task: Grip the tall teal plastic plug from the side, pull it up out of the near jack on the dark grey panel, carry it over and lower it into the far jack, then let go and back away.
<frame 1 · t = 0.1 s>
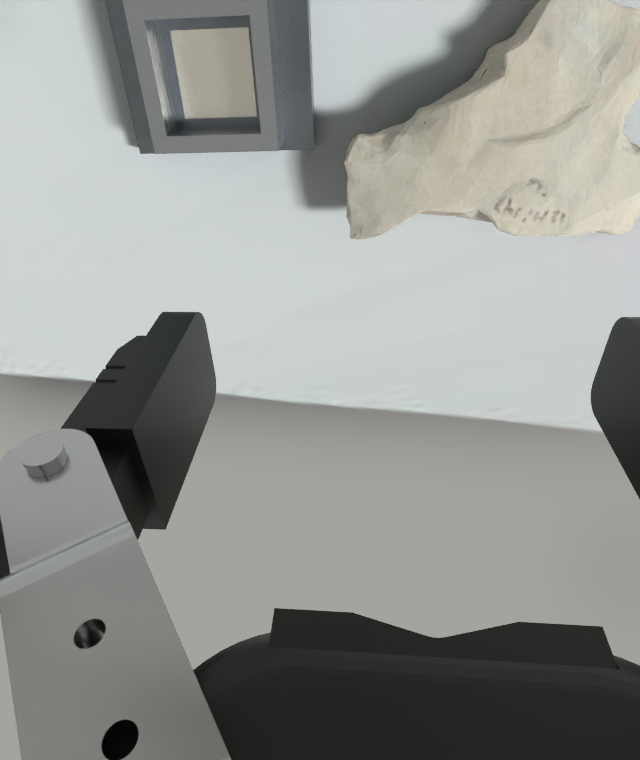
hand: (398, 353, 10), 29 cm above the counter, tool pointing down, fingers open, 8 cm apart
rock: (509, 124, 34), on the counter
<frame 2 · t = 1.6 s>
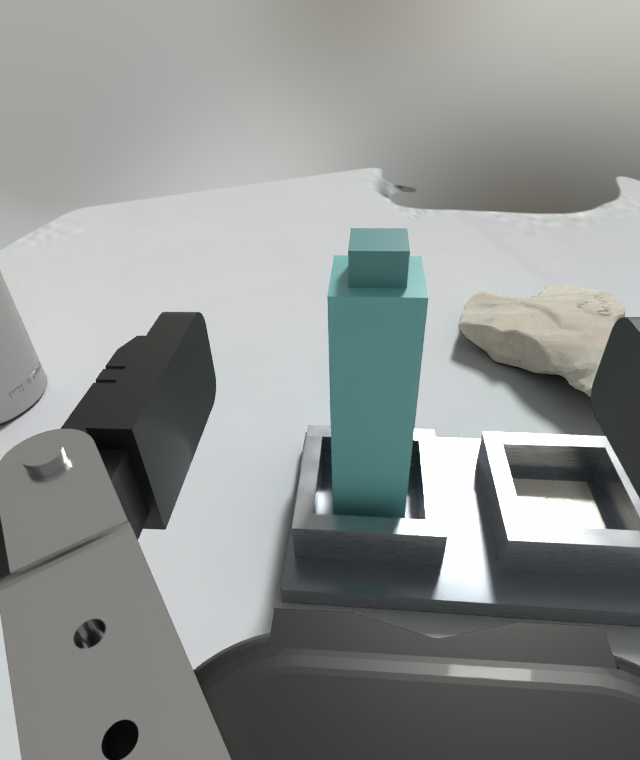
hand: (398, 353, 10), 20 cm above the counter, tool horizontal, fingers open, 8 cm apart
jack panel: (458, 520, 31), on the counter
plug: (368, 502, 31), point 1 cm above the counter, touching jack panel
rock: (540, 356, 46), on the counter
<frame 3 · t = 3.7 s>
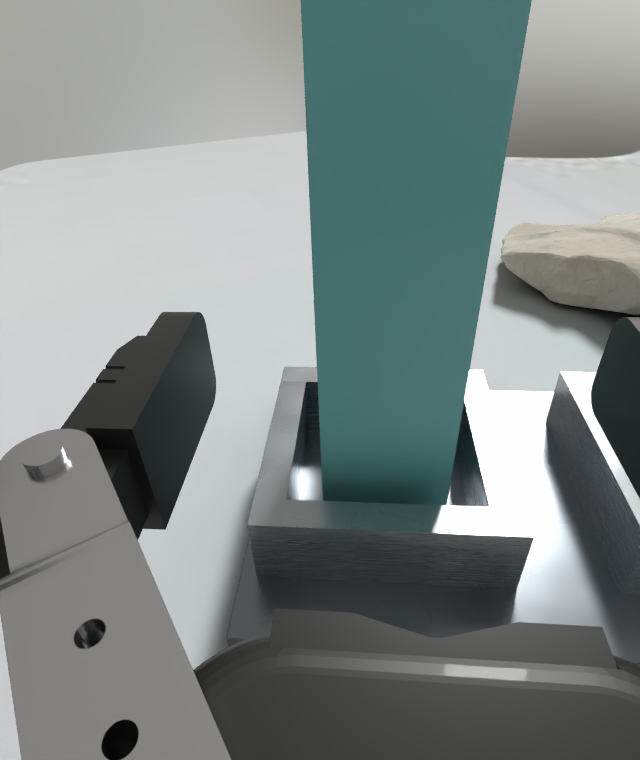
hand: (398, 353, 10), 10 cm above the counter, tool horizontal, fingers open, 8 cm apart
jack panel: (527, 512, 19), on the counter
plug: (381, 485, 19), point 1 cm above the counter, touching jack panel
rock: (612, 298, 34), on the counter
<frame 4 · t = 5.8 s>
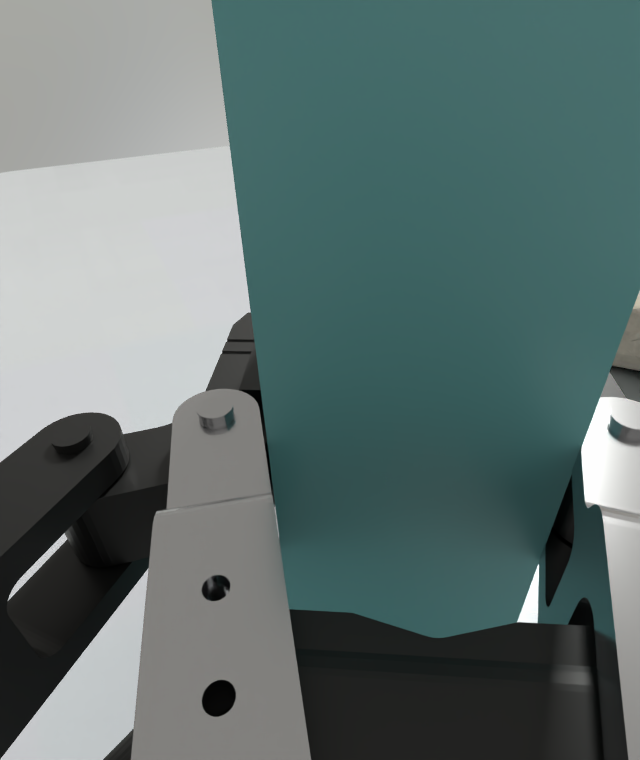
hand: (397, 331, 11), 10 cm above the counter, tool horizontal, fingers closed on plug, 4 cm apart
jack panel: (580, 692, 14), on the counter
plug: (384, 658, 14), point 1 cm above the counter, touching gripper, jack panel
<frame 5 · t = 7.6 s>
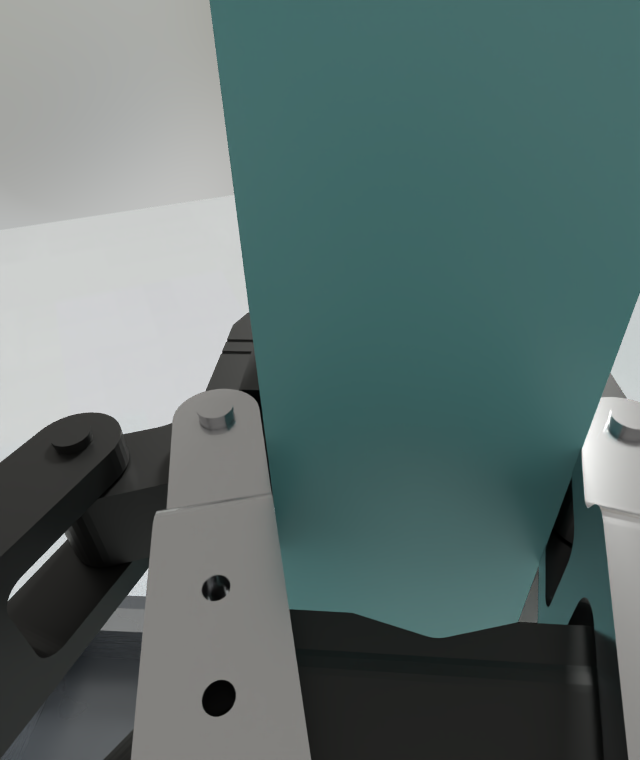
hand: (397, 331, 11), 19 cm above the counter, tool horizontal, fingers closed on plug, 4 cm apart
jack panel: (242, 755, 21), on the counter
plug: (384, 660, 14), point 10 cm above the counter, touching gripper
when the fingers open (11 cm above the counter, at t = 9.4 s): plug drops 1 cm, resting on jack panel.
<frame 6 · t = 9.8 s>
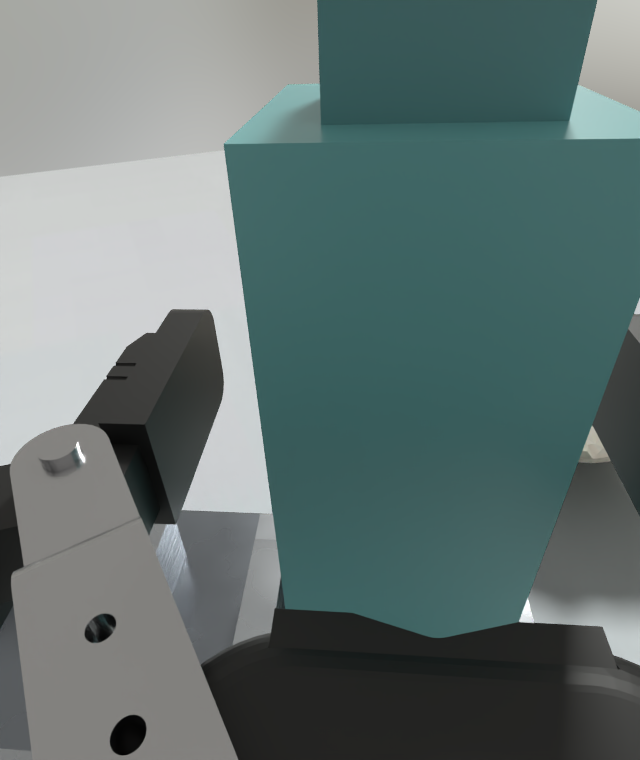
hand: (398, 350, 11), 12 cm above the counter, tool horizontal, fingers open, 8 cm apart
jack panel: (203, 690, 16), on the counter
plug: (382, 685, 15), point 1 cm above the counter, touching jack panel
rock: (471, 378, 30), on the counter
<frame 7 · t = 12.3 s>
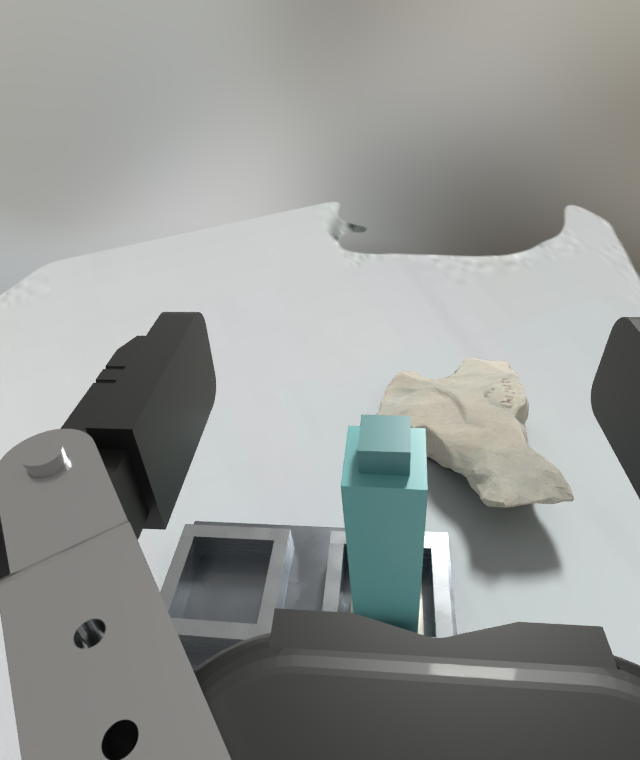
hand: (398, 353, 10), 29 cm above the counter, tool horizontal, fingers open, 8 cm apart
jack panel: (308, 608, 37), on the counter
plug: (386, 605, 35), point 1 cm above the counter, touching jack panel
rock: (456, 439, 48), on the counter
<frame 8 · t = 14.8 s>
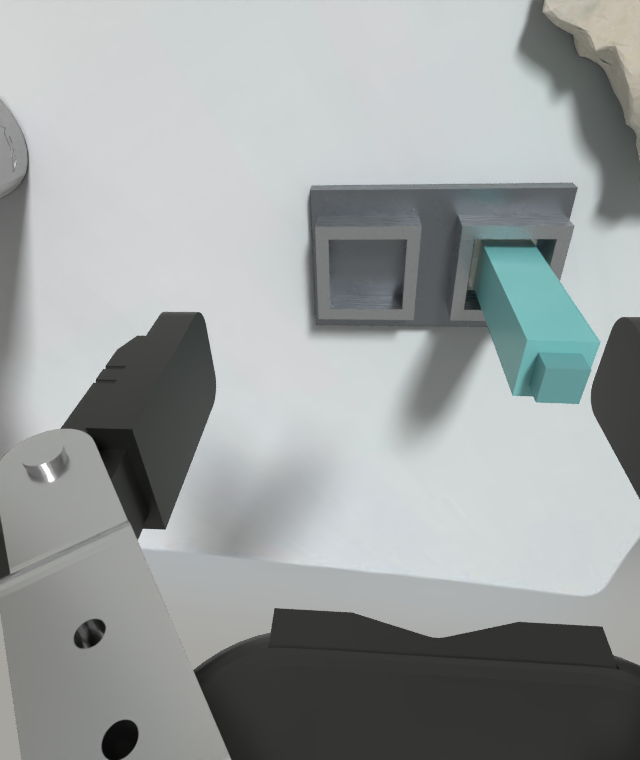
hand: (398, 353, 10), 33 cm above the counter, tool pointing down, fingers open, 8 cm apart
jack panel: (432, 257, 44), on the counter
plug: (501, 264, 42), point 1 cm above the counter, touching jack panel
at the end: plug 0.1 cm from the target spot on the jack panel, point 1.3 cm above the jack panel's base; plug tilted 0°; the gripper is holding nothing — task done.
